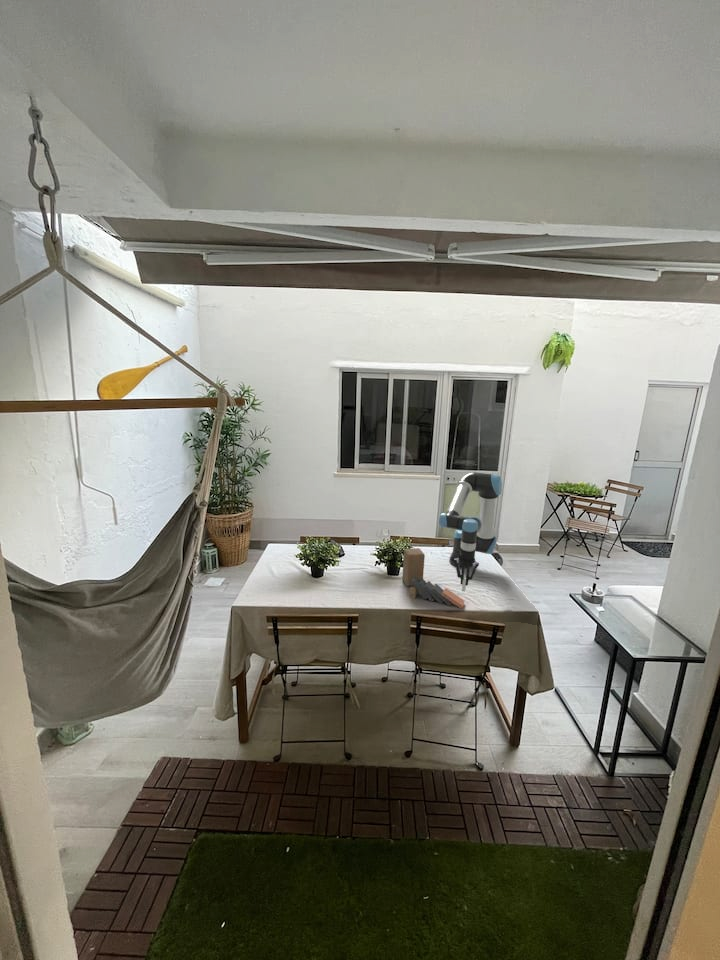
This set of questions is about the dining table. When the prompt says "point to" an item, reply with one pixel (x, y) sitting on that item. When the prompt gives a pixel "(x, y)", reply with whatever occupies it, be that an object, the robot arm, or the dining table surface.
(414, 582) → the domino
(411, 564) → the block
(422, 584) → the domino
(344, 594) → the dining table surface
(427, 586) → the domino
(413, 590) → the end stop
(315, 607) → the dining table surface
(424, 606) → the dining table surface
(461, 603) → the domino
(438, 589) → the domino
